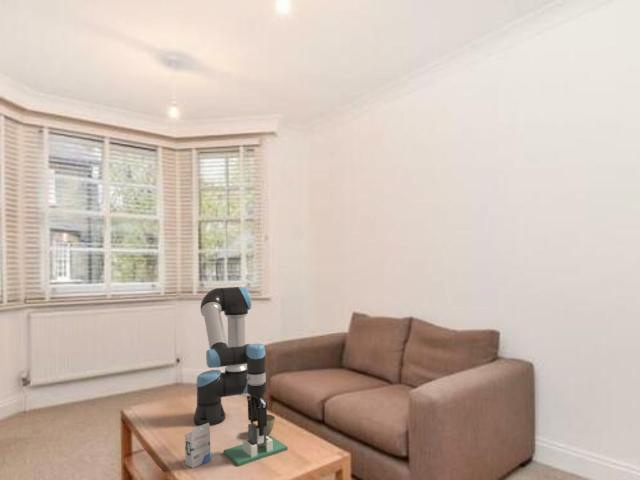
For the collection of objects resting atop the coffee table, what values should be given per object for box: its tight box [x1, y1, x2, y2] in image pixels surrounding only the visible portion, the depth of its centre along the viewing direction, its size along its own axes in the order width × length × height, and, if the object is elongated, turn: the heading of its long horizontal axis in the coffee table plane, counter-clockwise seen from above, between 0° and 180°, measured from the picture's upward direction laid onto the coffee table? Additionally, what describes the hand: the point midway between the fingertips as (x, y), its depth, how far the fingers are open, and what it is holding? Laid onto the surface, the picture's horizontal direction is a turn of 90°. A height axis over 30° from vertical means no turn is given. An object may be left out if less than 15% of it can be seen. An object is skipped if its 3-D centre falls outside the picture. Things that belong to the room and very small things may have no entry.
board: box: [223, 435, 289, 467], centre depth 176 cm, size 14×22×5 cm, turn 126°
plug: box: [247, 421, 266, 446], centre depth 174 cm, size 4×6×8 cm, turn 126°
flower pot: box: [266, 413, 276, 437], centre depth 193 cm, size 10×10×7 cm
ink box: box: [184, 423, 211, 469], centre depth 168 cm, size 8×5×15 cm, turn 140°
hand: (257, 441), depth 174 cm, fingers closed on plug, 4 cm apart
